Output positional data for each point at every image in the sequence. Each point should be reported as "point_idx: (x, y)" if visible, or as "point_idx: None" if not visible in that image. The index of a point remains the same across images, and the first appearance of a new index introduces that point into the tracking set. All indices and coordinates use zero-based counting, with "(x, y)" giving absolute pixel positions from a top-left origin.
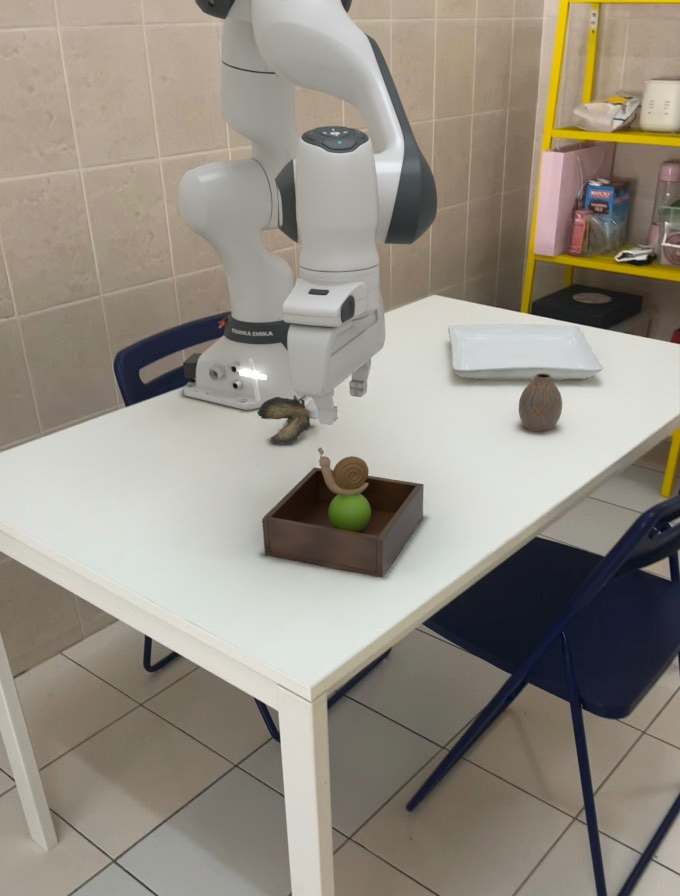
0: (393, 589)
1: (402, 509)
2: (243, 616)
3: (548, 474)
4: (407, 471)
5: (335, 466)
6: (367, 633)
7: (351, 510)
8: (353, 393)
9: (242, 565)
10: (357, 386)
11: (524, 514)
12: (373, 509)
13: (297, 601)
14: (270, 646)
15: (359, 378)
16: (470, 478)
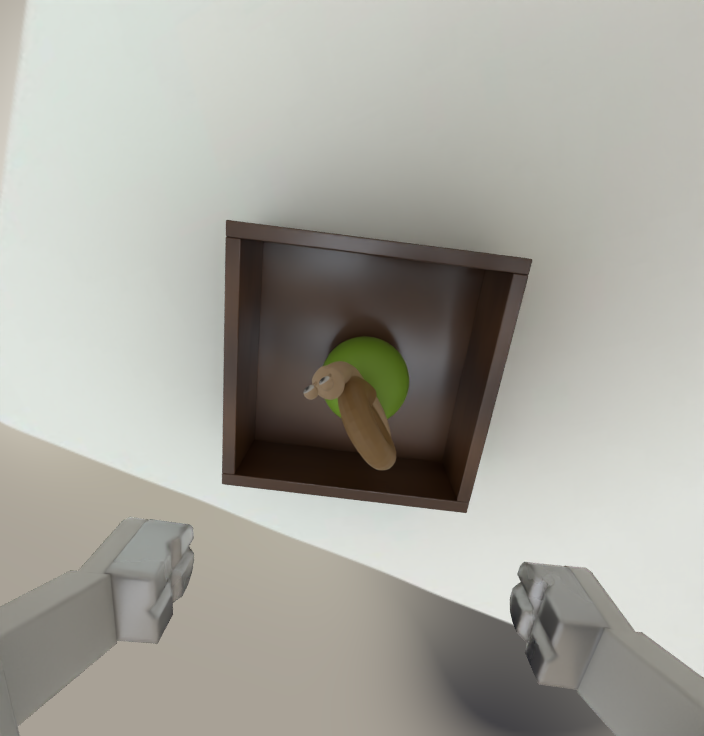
0: (220, 463)
1: (348, 495)
2: (59, 262)
3: (631, 621)
4: (648, 410)
5: (347, 400)
6: (103, 452)
7: (328, 402)
8: (526, 582)
9: (204, 194)
10: (540, 638)
11: (484, 598)
12: (457, 388)
13: (135, 336)
14: (12, 333)
15: (603, 676)
16: (615, 518)
